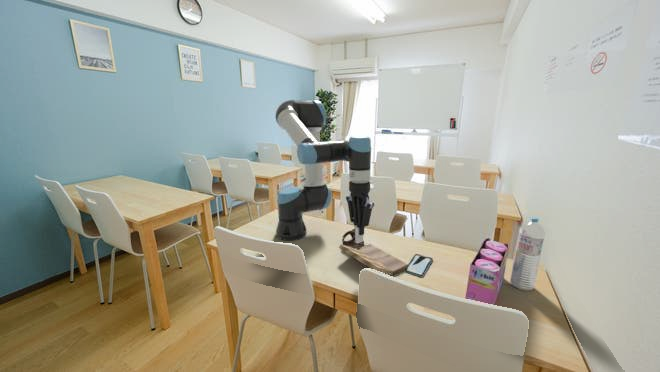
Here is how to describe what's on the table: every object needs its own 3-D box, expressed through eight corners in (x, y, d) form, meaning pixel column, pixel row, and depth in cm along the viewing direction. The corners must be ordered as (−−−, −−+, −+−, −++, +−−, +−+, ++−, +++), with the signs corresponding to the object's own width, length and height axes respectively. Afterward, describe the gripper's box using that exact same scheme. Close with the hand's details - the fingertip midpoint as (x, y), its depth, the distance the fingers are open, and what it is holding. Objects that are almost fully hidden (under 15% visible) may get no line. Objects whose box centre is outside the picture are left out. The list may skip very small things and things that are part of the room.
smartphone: (403, 271, 102) (415, 253, 114) (403, 273, 103) (415, 255, 114) (422, 277, 98) (433, 258, 110) (422, 279, 99) (433, 260, 110)
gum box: (480, 268, 104) (485, 236, 100) (504, 276, 99) (511, 242, 96) (464, 301, 86) (469, 263, 83) (492, 312, 82) (499, 273, 78)
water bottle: (505, 280, 97) (517, 215, 90) (522, 278, 97) (536, 214, 91) (519, 292, 90) (533, 223, 83) (538, 291, 91) (554, 222, 84)
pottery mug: (366, 252, 118) (358, 239, 115) (347, 258, 121) (339, 246, 117) (365, 234, 128) (357, 221, 125) (347, 240, 131) (339, 228, 128)
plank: (339, 247, 110) (340, 244, 110) (355, 252, 116) (356, 248, 116) (375, 271, 94) (377, 267, 94) (392, 275, 100) (393, 271, 100)
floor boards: (356, 252, 117) (356, 249, 116) (369, 246, 121) (369, 243, 121) (393, 275, 100) (393, 271, 100) (407, 267, 105) (407, 264, 104)
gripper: (339, 179, 98) (340, 238, 104) (364, 185, 88) (363, 251, 94) (355, 176, 103) (355, 233, 108) (380, 182, 92) (378, 245, 98)
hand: (359, 241), depth 101 cm, fingers closed
